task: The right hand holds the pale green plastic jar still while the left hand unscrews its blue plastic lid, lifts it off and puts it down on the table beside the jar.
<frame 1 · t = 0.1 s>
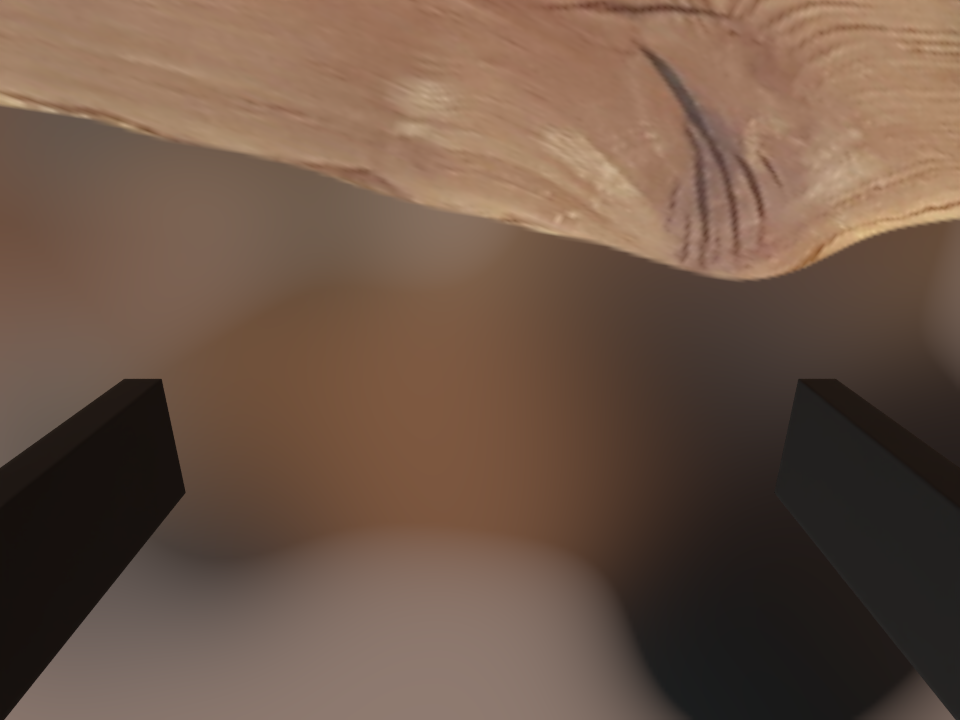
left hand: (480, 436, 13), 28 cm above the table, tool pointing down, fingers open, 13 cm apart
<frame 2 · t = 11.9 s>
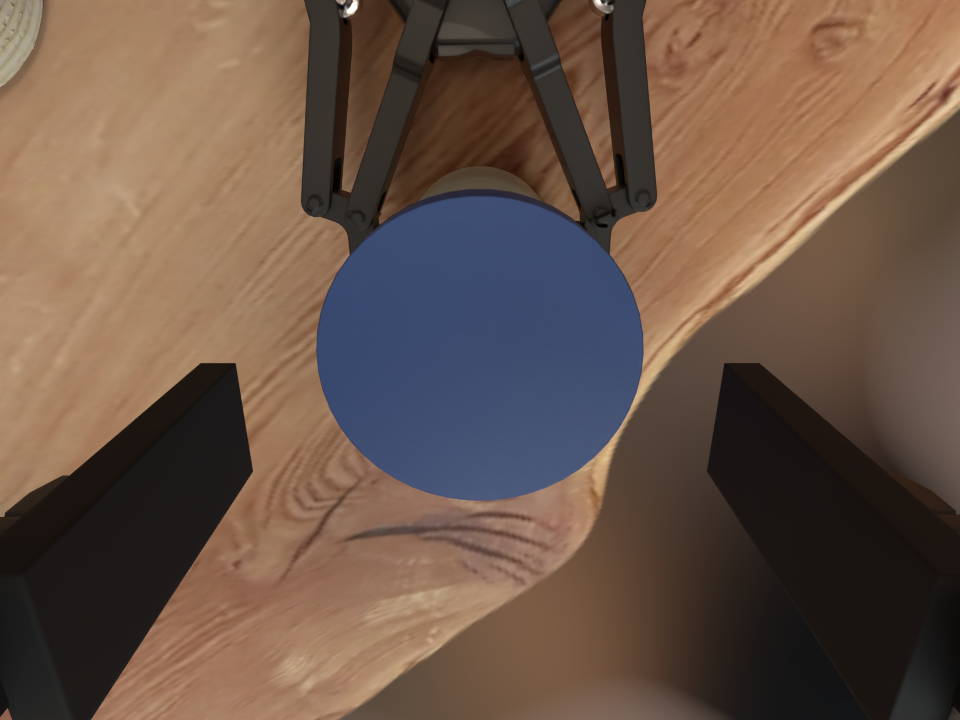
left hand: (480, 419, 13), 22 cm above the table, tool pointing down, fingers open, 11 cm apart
lid: (479, 358, 17), point 19 cm above the table, screwed on, not yet turned
jar: (479, 239, 34), on the table, touching right hand
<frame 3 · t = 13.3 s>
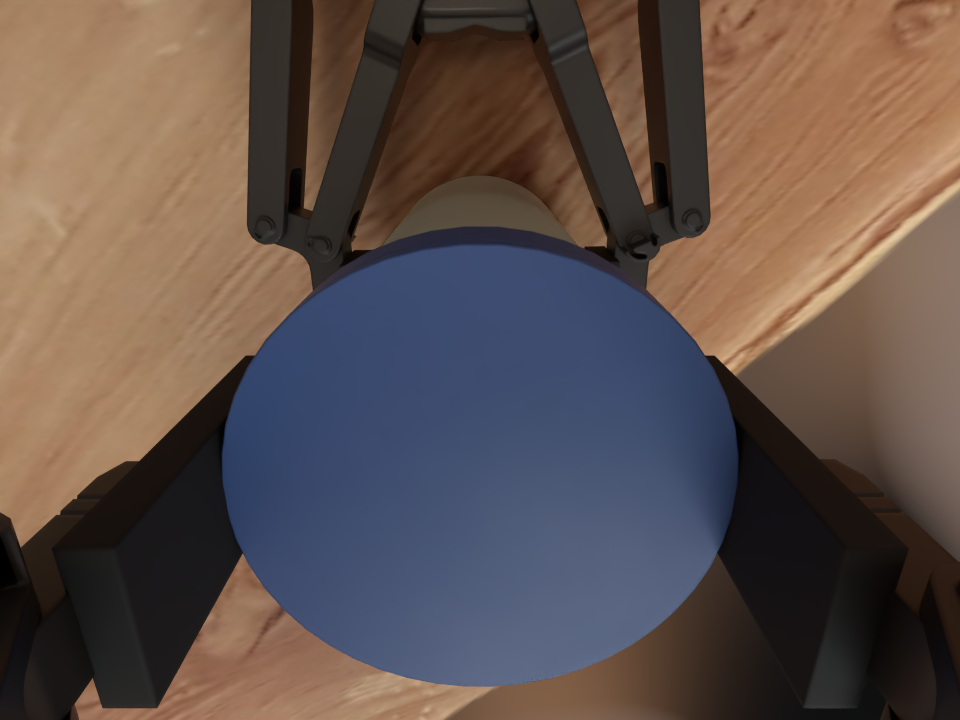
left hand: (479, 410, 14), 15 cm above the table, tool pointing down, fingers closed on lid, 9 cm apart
lid: (480, 488, 11), point 18 cm above the table, screwed on, not yet turned, touching left hand
jar: (479, 264, 28), on the table, touching right hand
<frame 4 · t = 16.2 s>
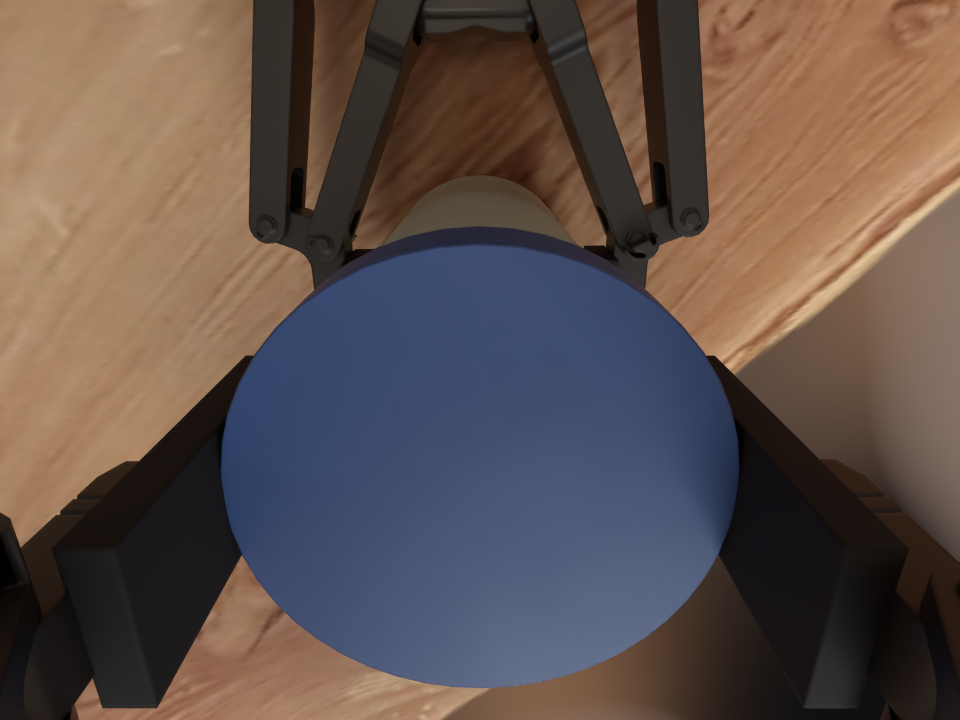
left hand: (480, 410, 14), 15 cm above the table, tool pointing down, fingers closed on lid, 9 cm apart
lid: (480, 489, 11), point 19 cm above the table, turned 65° so far, risen 0.2 cm, still on its thread, touching left hand
jar: (480, 263, 28), on the table, touching right hand
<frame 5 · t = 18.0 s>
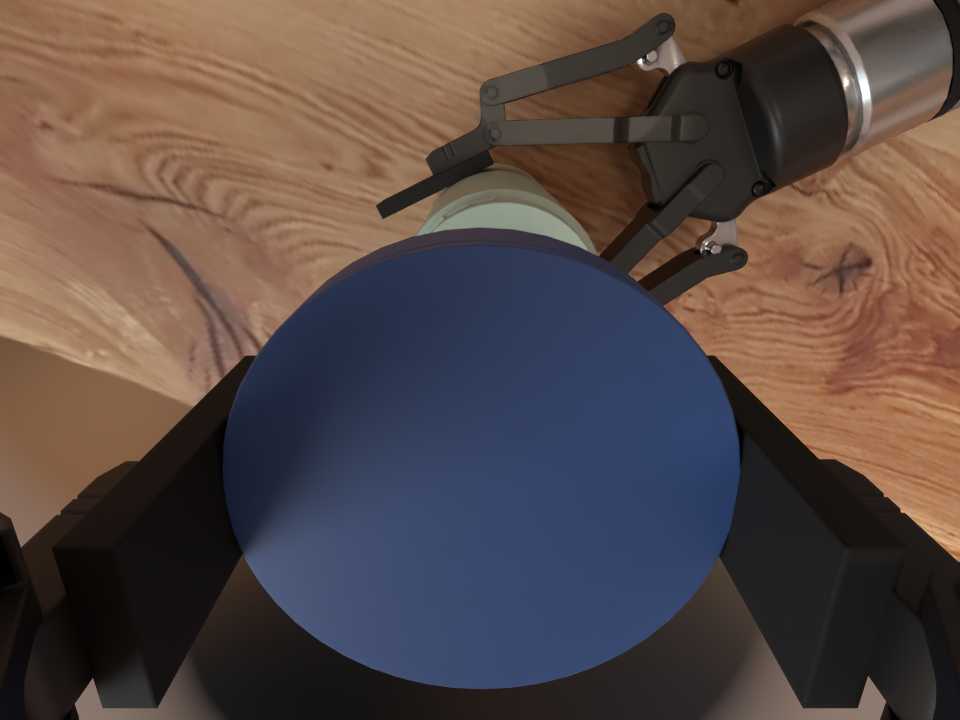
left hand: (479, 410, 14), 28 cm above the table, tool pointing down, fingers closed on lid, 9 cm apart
right hand: (420, 279, 34), fingers closed on jar, 8 cm apart
lid: (481, 490, 11), point 31 cm above the table, off its thread, touching left hand
jar: (493, 226, 40), on the table, touching right hand
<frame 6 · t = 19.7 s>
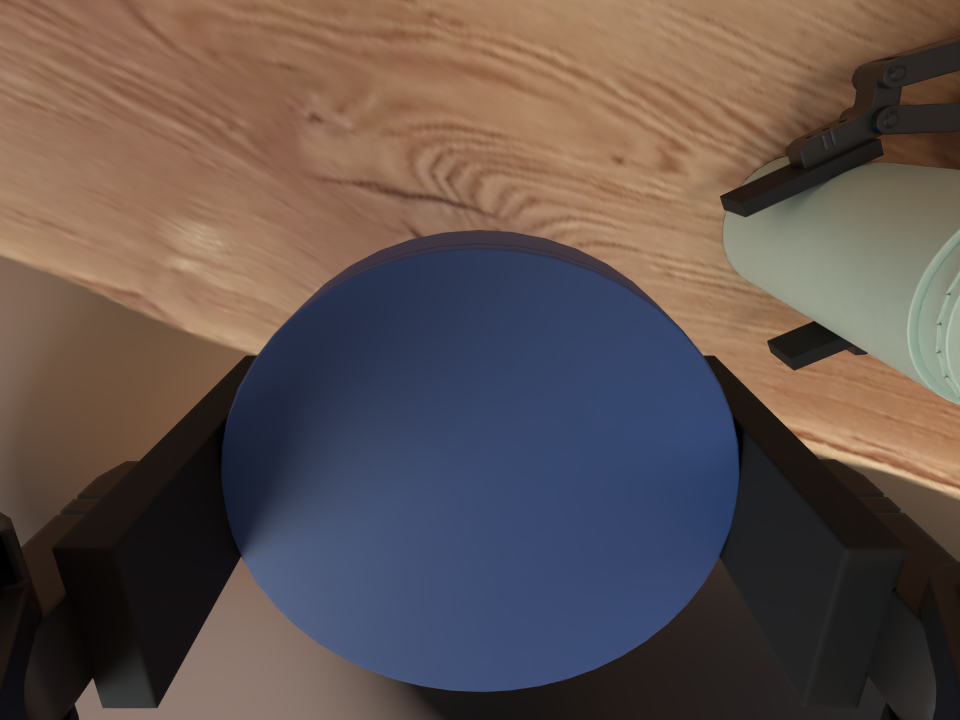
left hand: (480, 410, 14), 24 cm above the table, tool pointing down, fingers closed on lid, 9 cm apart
lid: (480, 493, 11), point 27 cm above the table, off its thread, touching left hand
jar: (789, 224, 36), on the table, touching right hand
when the left hand's fingers open (0 cm above the table, at t = 23.3 s): lid drops 2 cm, point 1 cm above the table.
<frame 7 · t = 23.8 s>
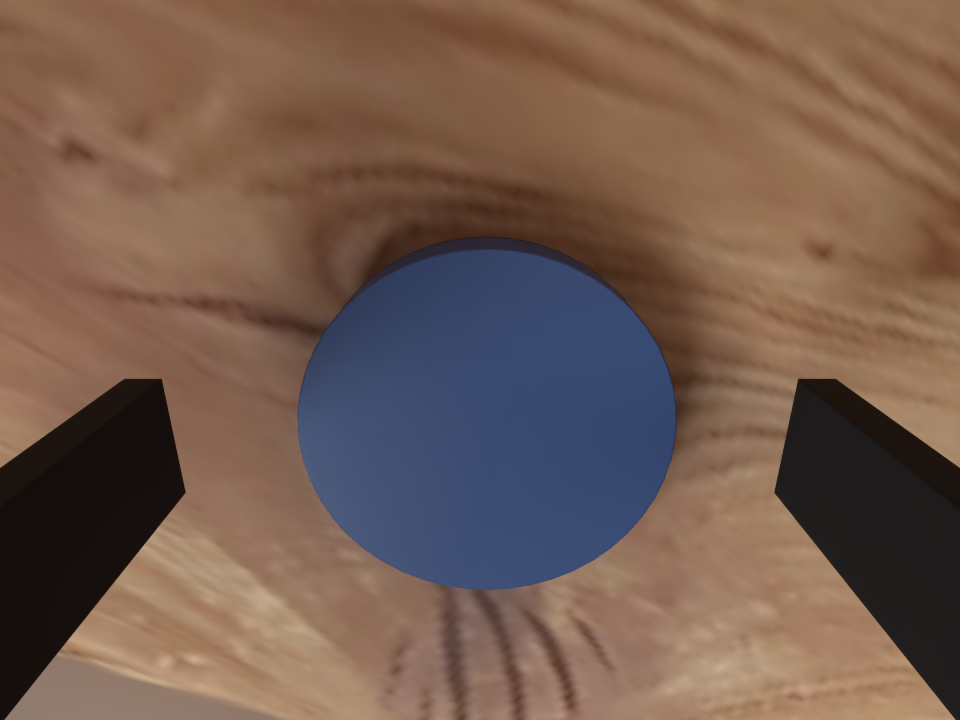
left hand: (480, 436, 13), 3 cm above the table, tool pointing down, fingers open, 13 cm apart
lid: (486, 431, 15), point 1 cm above the table, off its thread
when the right hand's fingers open (6 cm above the table, at t = 24.2 s): jar stays where it is, on the table.
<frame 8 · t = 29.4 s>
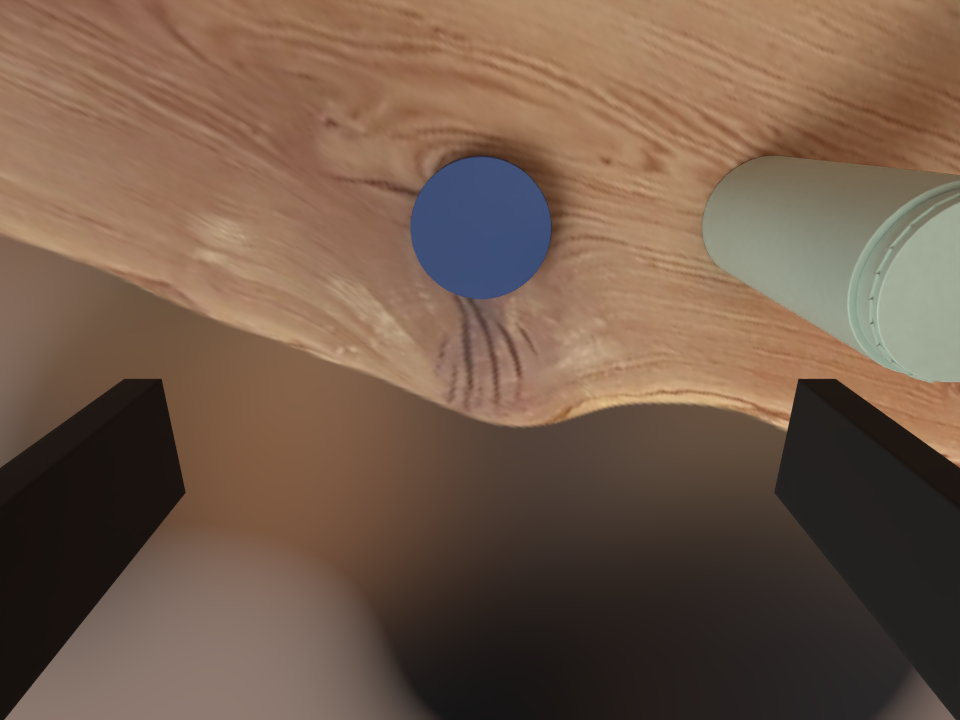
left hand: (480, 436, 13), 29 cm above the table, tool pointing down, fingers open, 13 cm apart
lid: (481, 230, 39), point 1 cm above the table, off its thread
jar: (763, 219, 40), on the table
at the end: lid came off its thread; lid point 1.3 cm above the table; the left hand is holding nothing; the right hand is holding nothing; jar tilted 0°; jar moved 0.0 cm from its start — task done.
